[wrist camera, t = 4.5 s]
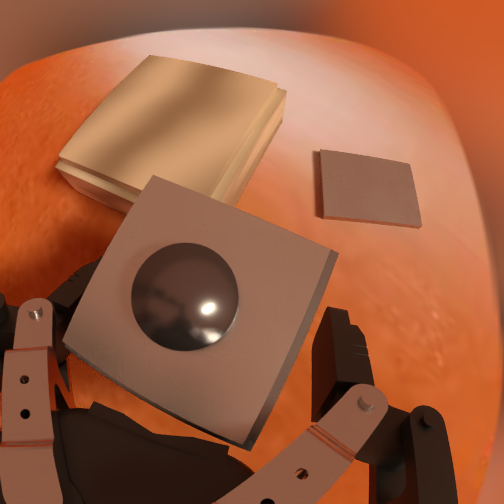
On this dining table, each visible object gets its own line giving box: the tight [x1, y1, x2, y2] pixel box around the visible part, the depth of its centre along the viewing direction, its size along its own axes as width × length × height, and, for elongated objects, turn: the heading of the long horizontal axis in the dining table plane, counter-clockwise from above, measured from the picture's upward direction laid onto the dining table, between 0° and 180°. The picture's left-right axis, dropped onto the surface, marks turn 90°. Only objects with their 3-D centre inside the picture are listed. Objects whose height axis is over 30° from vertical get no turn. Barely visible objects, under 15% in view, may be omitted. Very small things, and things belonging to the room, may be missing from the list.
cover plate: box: [319, 149, 422, 229], centre depth 19 cm, size 7×5×1 cm
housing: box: [62, 175, 339, 451], centre depth 11 cm, size 6×6×11 cm
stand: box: [55, 55, 287, 215], centre depth 17 cm, size 11×11×4 cm
